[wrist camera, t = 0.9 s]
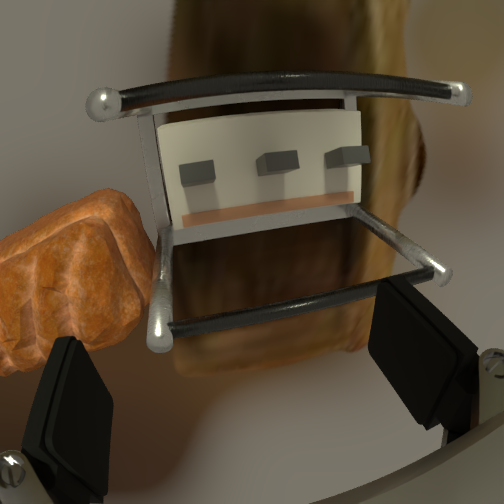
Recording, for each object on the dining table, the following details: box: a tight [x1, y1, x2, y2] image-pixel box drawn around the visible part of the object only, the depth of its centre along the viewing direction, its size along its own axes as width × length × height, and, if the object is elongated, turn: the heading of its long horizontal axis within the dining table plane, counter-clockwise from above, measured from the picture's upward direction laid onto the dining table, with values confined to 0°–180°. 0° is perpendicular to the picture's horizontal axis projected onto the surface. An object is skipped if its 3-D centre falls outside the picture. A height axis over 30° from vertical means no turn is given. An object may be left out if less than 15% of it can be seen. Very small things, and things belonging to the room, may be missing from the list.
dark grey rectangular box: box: [256, 150, 300, 176], centre depth 28 cm, size 2×3×4 cm, turn 96°
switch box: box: [157, 109, 361, 230], centre depth 33 cm, size 10×20×6 cm, turn 95°
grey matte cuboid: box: [324, 146, 371, 169], centre depth 29 cm, size 2×3×4 cm, turn 95°
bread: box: [0, 188, 156, 377], centre depth 29 cm, size 14×26×16 cm, turn 107°
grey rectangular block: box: [179, 160, 216, 188], centre depth 27 cm, size 2×3×4 cm, turn 95°
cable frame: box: [86, 70, 472, 353], centre depth 27 cm, size 17×25×19 cm
